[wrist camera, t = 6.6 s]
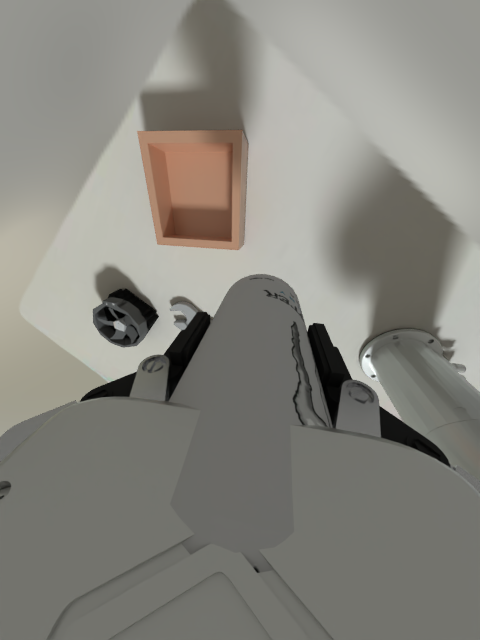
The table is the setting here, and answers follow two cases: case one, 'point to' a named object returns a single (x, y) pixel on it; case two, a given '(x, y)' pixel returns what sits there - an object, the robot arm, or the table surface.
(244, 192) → the bin
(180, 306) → the adjustable wrench
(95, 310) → the cpu cooler
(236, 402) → the energy drink can
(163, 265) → the table surface
